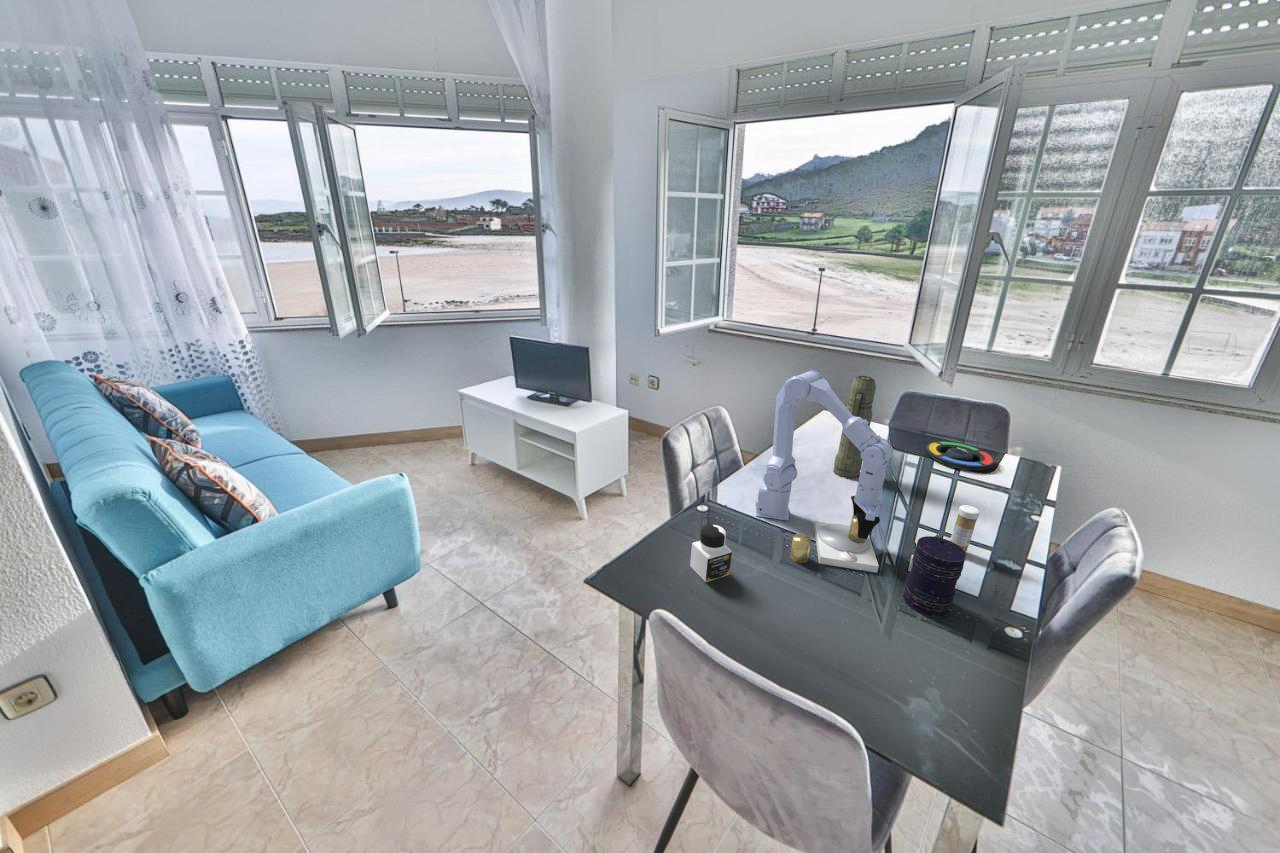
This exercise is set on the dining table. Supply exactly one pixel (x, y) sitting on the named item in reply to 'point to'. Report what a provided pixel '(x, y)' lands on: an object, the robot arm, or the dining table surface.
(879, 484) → the robot arm
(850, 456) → the thermos
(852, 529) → the cylinder
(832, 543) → the kitchen scale
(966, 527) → the sprinkles bottle
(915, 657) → the dining table surface
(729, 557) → the medicine bottle
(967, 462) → the electronic game
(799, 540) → the cylinder
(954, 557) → the storage jar
